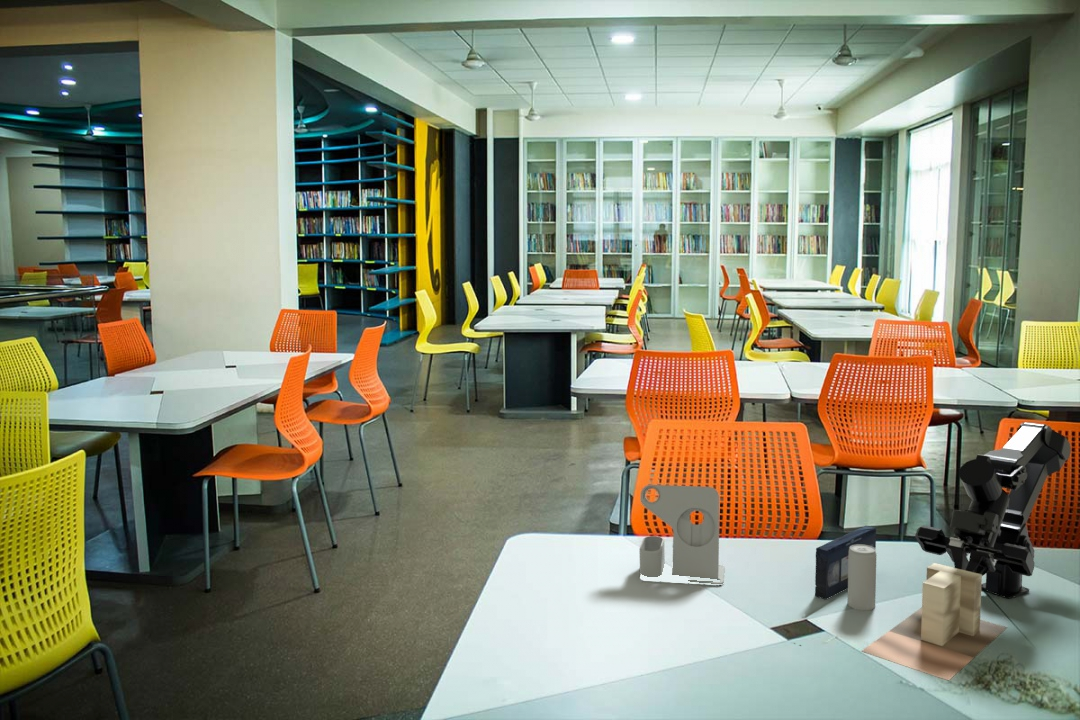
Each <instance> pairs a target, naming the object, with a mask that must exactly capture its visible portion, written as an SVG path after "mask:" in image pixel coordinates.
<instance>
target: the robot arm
mask: <svg viewBox="0 0 1080 720" xmlns="http://www.w3.org/2000/svg"><path fill="white" fill-rule="evenodd" d="M1071 449H1072V447H1071V443H1070V442H1069V440H1068V438H1067V437H1066V436H1065V435H1064V434H1061V433H1059V432H1057V431H1056V430H1053V429H1052V428H1051V426H1049V425H1047V424H1045V423H1038V422H1029V421H1025V422H1020V425H1019V426H1018V430H1017V431H1016V433H1015V434H1014V435H1012V437H1011V438H1010V439H1009V440H1008V441H1007V442H1006V444H1004V446H1002V448H1000V449H995V450H990V451H987V452H986V453H985V454H977V455H976V457H975V458H974V459H969V460H968V461H966V462H964V463H963V465H962V466H960V468H958V469H959V470H958V476H959V478H960V481H961V483H962V485H963V487H964V489H965V492H966V494H967V496H968V497H969V498H970V500H971V502H970V504H969V507H968V509H965V510H964V511H962V510H958V509H953V510H952V516H951V521H950V523H949V524H950V525H949V528H951V529H953V534H954V535H955V536H956V537H957V538H956V537H952V536H949V537H947V536H946V535H945V533H944V531H943V529H942V528H939V527H933V526H928V525H924V524H923V525H921V526H920V527H918V528H917V530H916V532H915V535H914V537H915V539H916V542H917V543H918V544H919V547H920V548H921V550H922V551H924V552H925V553H928V554H933V555H936V556H942V555H943V554H946V553H948V556H949V558H950V559H951V562H953V565H954V568H957V569H961V570H965V571H969V572H974V573H978V574H982V577H983V576H985V582H983V583H982V584H981V590H984V591H988V592H990V593H992V594H995V595H998V596H1000V597H1004V598H1006V599H1013V598H1015V597H1019V596H1021V595H1023V594H1027V593H1030V588H1028V587H1025V586H1023V585H1022V584H1023V576H1025V577H1031V576H1033V573H1034V571H1035V560H1034V558H1035V549H1034V547H1033V544H1032V542H1031V539H1030V537H1029V533H1028V527H1027V522H1028V520H1029V518H1030V515H1031V513H1032V511H1033V509H1034V507H1035V504H1036V502H1037V500H1038V497H1039V495H1040V493H1041V491H1042V489H1043V487H1044V484H1045V482H1046V480H1047V478H1048V476H1050V475H1052V474H1054V473H1056V472H1059V471H1060V470H1062V468H1063V466H1064V464H1065V463H1066V461H1067V460H1069V458H1070V456H1071V451H1072V450H1071ZM1005 489H1008V490H1010V491H1009V493H1007V492H1006V490H1005ZM968 556H969V559H968Z"/></svg>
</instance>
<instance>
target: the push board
mask: <svg viewBox="0 0 1080 720" xmlns="http://www.w3.org/2000/svg"><path fill="white" fill-rule="evenodd" d="M921 623H922V606H921V607H919V608H918V609H917V610H916V611H914V612H913V613H911V614H910V615H909V616H908V617H906V618H905V619H903V620H902V621H901V622H899V623H897V624H896V625H895V626H894V627H893V628H891V629H889V630H888V631H887V632H886V633H884V634H883V635H881V636H880V637H878V638H877V639H876V640H875V641H873V642H872V643H869V645H867V646H866V647H865V648H864V649H862V650H861V652H862V653H865V654H867V655H871V656H874V657H877V658H880V659H883V660H886V661H889V662H892V663H895V664H898V665H901V666H904V667H906V668H910V669H913V670H915V671H919V672H922V673H925V674H928V675H930V676H934V677H935V678H936V677H937V678H940V679H942V680H946V681H950V680H952V678H954V677H955V675H957V674H959V672H960V671H962V670H963V669H964V667H966V666H967V665H968V664H969V663H970V662H972V660H973V659H974V658H976V657H977V656H978V655H979V654H980V653H982V651H983V650H984V649H986V648H987V647H988V646H989V645H990V644H991V643H992V642H994V641H995V640H996V639H997V638H998V637H999V636H1000V635H1001V634H1002V633H1003V632H1004V631H1006V630H1007V629H1008V626H1004V625H1001V624H997V623H994V622H990V621H986V620H983V619H980V630H979V631H978V632H977V633H976V634H975V635H974V636H971V635H967V634H964V633H960V632H959V633H957V634H956V635H955V636H954V637H952V638H951V639H950V640H949V641H948V642H946V643H945V644H944V645H943V646H941V645H937V644H934V643H931V642H928V641H924V640H921Z"/></svg>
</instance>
